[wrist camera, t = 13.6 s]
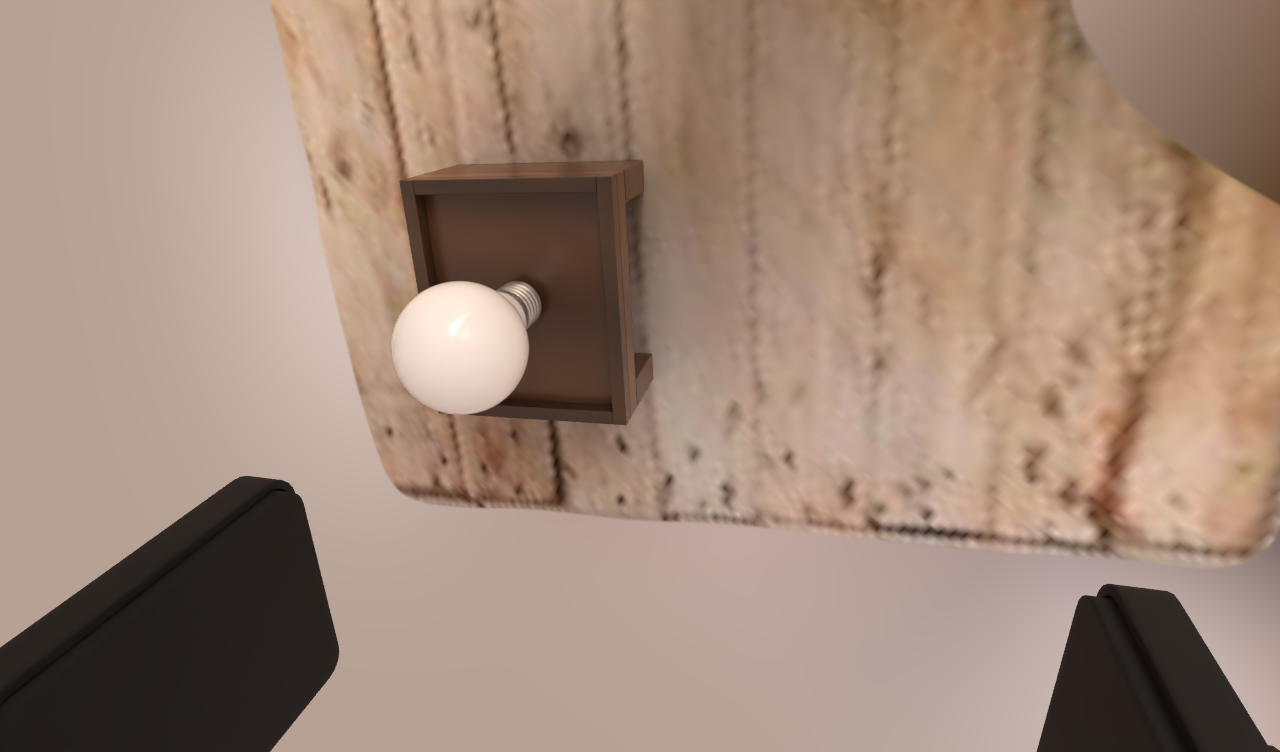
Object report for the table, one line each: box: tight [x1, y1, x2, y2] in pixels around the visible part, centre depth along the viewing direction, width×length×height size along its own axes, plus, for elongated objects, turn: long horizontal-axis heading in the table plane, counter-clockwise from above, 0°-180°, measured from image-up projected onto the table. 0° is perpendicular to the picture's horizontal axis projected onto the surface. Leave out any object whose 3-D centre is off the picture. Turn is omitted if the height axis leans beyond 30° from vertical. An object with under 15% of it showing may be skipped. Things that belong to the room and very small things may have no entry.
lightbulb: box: [391, 281, 541, 415], centre depth 37 cm, size 6×6×11 cm
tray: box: [400, 160, 653, 425], centre depth 44 cm, size 14×12×7 cm
